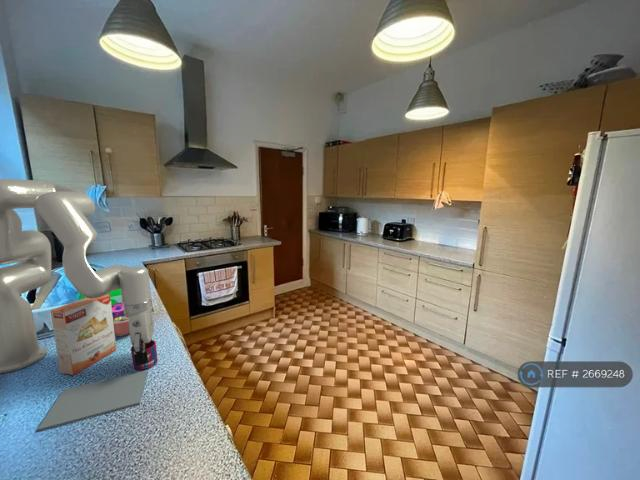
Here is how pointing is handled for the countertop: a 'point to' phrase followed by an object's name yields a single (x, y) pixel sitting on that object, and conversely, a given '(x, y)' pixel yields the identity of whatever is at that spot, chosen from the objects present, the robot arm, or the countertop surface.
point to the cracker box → (83, 333)
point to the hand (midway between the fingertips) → (144, 355)
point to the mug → (150, 354)
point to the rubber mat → (95, 399)
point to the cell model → (120, 320)
